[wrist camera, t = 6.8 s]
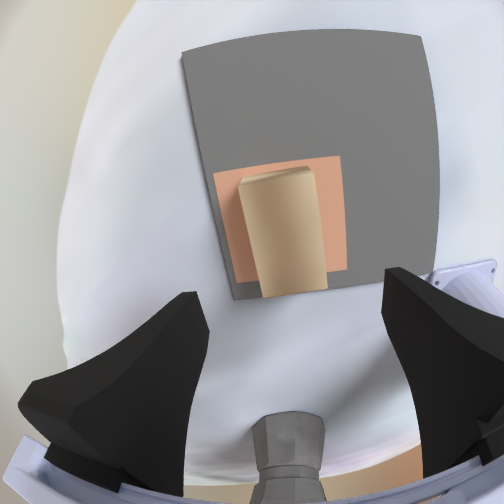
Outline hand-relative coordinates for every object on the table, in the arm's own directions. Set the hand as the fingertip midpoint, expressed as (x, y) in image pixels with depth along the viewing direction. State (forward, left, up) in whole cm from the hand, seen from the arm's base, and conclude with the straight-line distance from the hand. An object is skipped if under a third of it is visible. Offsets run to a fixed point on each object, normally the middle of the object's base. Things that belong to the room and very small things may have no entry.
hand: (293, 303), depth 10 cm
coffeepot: (-27, +2, -10) cm, 29 cm away
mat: (+4, -3, -9) cm, 10 cm away
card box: (0, 0, -9) cm, 9 cm away
